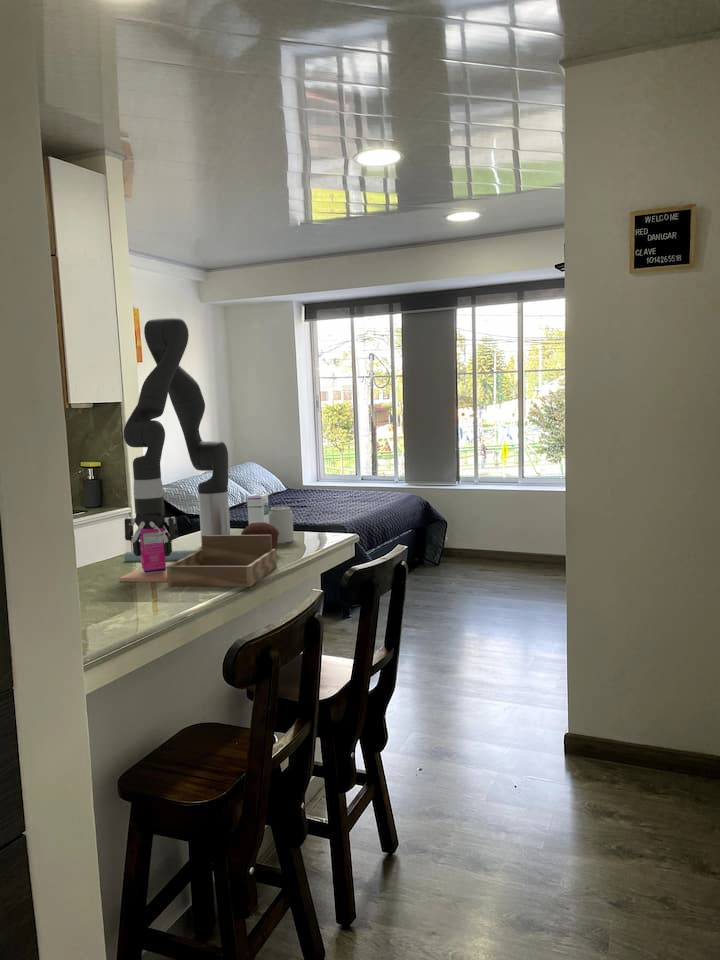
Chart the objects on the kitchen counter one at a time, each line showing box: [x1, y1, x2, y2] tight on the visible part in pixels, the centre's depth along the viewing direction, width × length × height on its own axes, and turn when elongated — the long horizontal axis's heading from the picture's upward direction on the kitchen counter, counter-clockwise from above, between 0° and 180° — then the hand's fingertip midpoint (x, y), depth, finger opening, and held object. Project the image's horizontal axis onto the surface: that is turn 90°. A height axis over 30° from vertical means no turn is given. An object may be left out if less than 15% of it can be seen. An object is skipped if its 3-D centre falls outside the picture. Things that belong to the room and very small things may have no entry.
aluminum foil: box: [124, 549, 199, 562], centre depth 218 cm, size 23×7×3 cm, turn 84°
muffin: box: [240, 522, 280, 552], centre depth 220 cm, size 12×11×10 cm
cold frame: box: [166, 534, 278, 588], centre depth 196 cm, size 22×22×9 cm
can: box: [269, 506, 295, 544], centre depth 239 cm, size 8×8×12 cm
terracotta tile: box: [119, 566, 168, 583], centre depth 200 cm, size 13×13×1 cm
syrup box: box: [246, 493, 270, 525], centre depth 254 cm, size 6×6×14 cm
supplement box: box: [139, 528, 167, 573], centre depth 200 cm, size 6×6×12 cm
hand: (152, 555), depth 200 cm, fingers open, 8 cm apart
